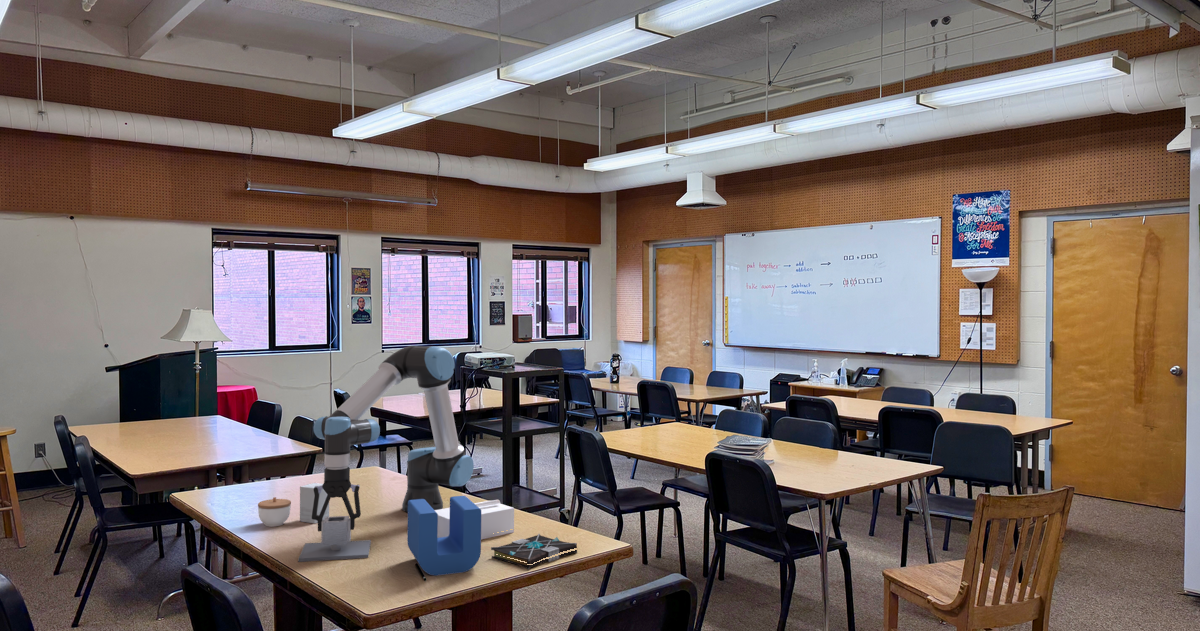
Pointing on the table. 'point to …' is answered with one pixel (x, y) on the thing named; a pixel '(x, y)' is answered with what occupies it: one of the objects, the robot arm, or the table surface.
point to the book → (533, 550)
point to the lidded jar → (274, 511)
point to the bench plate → (335, 551)
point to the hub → (335, 530)
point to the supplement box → (311, 503)
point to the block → (445, 551)
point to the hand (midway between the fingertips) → (336, 540)
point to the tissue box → (483, 519)
